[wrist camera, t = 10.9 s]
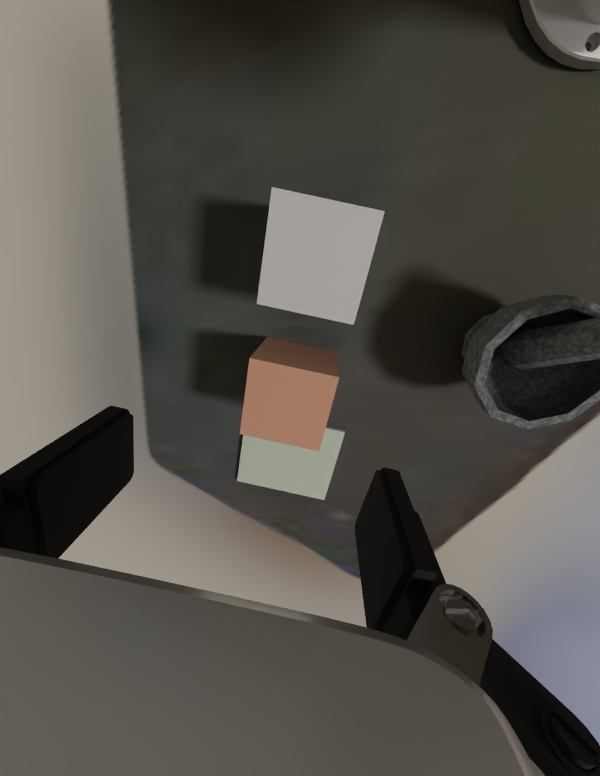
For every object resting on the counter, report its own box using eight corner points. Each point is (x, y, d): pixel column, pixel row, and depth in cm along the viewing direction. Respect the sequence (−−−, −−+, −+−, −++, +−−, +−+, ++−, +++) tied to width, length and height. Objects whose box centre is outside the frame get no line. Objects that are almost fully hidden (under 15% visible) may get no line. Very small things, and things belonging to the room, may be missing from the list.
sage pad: (247, 409, 32) (246, 410, 31) (344, 430, 32) (344, 432, 31) (237, 478, 36) (237, 480, 35) (324, 497, 36) (324, 500, 35)
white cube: (287, 207, 24) (271, 187, 17) (369, 225, 24) (384, 211, 17) (273, 294, 27) (256, 303, 20) (347, 310, 27) (353, 324, 20)
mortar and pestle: (487, 409, 29) (582, 496, 18) (420, 354, 28) (479, 414, 17) (594, 320, 25) (800, 364, 14) (522, 250, 24) (691, 238, 13)
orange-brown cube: (267, 336, 28) (249, 357, 22) (336, 351, 28) (339, 377, 22) (258, 399, 31) (239, 434, 25) (321, 412, 31) (319, 451, 25)
